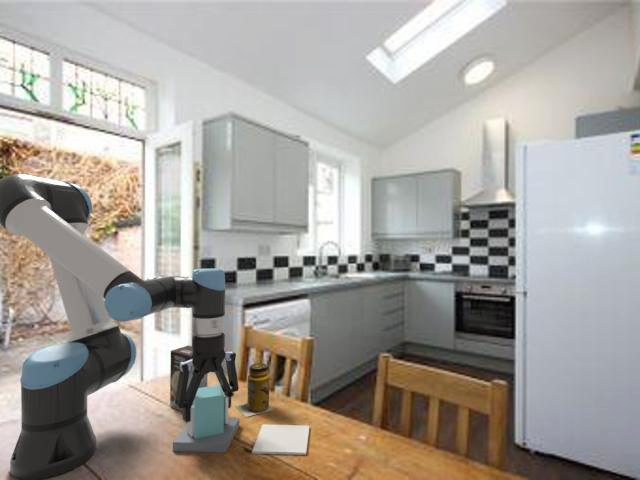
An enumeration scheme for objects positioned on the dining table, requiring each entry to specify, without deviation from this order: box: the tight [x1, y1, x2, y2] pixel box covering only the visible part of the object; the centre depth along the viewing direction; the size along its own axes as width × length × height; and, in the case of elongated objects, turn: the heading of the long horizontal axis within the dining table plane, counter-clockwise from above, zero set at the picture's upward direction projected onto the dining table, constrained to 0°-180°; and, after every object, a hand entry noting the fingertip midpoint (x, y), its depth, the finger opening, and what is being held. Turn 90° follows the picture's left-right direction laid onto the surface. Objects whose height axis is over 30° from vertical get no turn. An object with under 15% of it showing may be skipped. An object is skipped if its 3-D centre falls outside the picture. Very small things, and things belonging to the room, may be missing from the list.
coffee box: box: [169, 344, 209, 413], centre depth 106 cm, size 9×6×16 cm
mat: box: [251, 423, 311, 456], centre depth 89 cm, size 12×12×1 cm
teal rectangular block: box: [193, 384, 224, 438], centre depth 90 cm, size 6×6×9 cm
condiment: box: [236, 362, 275, 418], centre depth 106 cm, size 7×8×12 cm
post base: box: [172, 417, 240, 454], centre depth 90 cm, size 12×12×9 cm
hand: (207, 427), depth 90 cm, fingers closed on teal rectangular block, 8 cm apart
